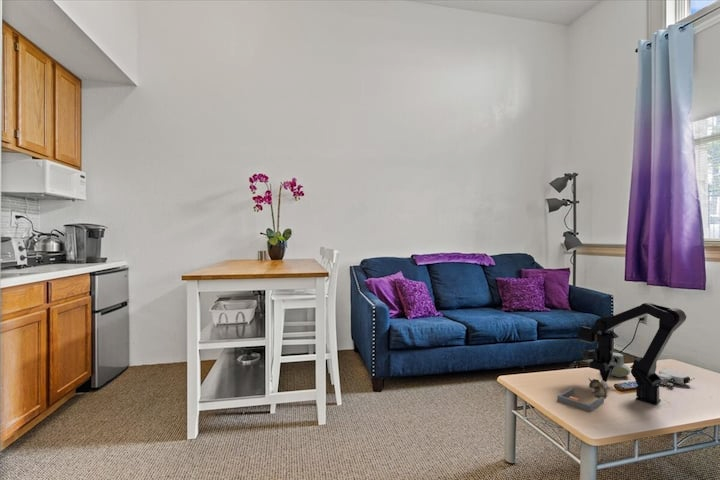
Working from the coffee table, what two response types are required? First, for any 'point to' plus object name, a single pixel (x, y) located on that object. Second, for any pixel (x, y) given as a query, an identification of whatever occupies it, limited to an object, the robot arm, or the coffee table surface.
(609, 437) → the coffee table surface
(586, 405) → the pocket
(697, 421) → the coffee table surface
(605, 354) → the robot arm
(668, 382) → the robot toy
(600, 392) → the eagle figurine
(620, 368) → the air freshener
